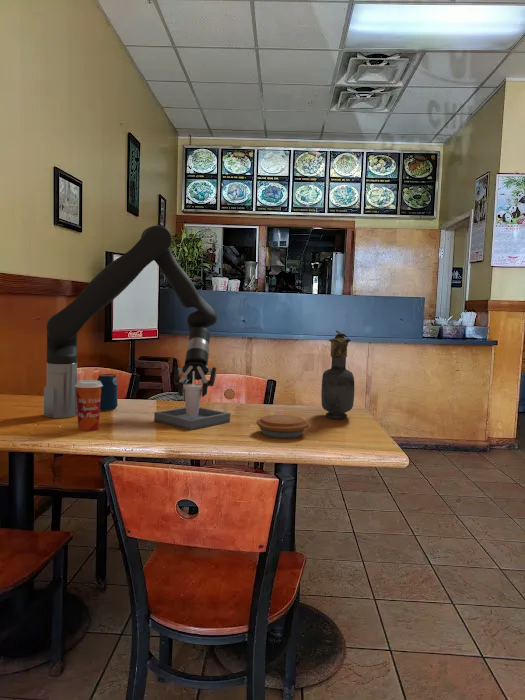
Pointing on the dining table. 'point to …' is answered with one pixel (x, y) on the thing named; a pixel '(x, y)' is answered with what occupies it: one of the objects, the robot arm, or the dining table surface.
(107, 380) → the soda can
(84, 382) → the paper cup
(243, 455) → the dining table surface
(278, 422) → the pie
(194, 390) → the smoothie
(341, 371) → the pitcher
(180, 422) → the tray
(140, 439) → the dining table surface
